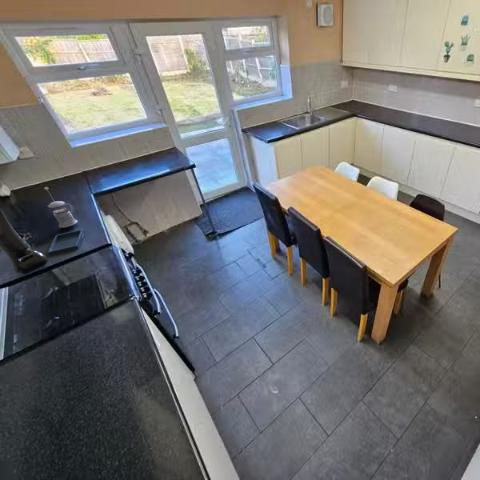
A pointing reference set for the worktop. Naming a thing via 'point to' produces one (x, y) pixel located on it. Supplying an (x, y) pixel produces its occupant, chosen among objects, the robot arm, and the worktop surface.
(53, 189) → the worktop surface
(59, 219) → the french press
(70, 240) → the tray
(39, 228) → the worktop surface
